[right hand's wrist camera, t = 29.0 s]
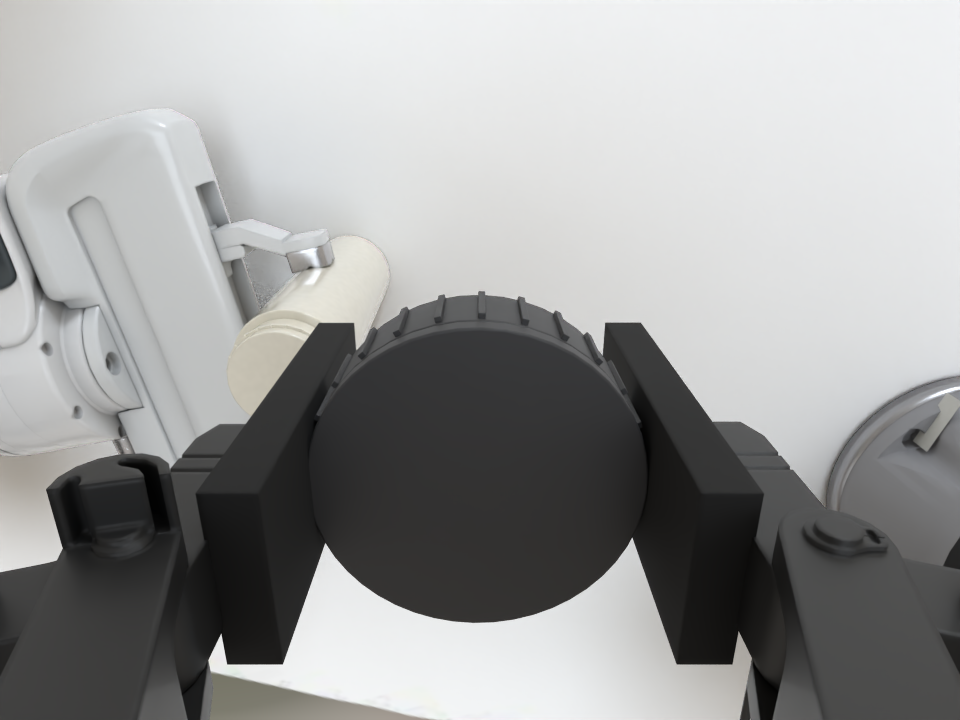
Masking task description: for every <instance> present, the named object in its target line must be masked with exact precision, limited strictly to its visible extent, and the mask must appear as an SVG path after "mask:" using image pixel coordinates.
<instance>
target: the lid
mask: <svg viewBox="0 0 960 720" xmlns="http://www.w3.org/2000/svg"><path fill="white" fill-rule="evenodd" d="M627 393H628V391H627V389H626V387H625V385H624V384H623V382H622V380H621V378H620V376H619V374H618V372H617V370H616V368H615V366H614V364H613V362H612V361H611V360H610V361H608V362H606V360H605V358H604V357H603V356H602V354H601V353H600V352H599V351H598V349H597V347H596V345H595V343H594V341H593V339H592V337H591V335H590V334H589V333H588V332H587V333H586V334H585V335H583V334H582V333H581V332H580V331H579V330H578V329H576V328H575V327H573V326H572V325H571V324H569V323H568V322H566V321H565V320H563V318H562V315H561V313H560V312H558V311H555V312H554V314H553V313H551V312H549V311H547V310H545V309H543V308H540V307H537V306H534V305H532V304H529V303H526V302H525V298H523V297H518V300H514V299H510V298H505V297H497V296H486V295H485V292H483V291H479V292H478V295H471V296H457V297H451V298H445V295H440V296H438V300H436V301H433V302H429V303H426V304H423V305H419V306H417V307H415V308H413V309H411V310H408V308H407V307H405V308H403V309H401V312H400V314H399V315H398V316H397V317H395V318H393V319H392V320H390V321H389V322H387V323H385V324H384V325H383V326H381V327H380V328H379V329H378V330H377V329H376V328H375V327H373V328H372V329H371V330H370V331H369V333H368V335H367V337H366V339H365V341H364V343H363V344H362V345H361V346H360V347H359V348H358V349H357V350H356V352H355V353H354V354H353V356H352V355H350V354H348V355H347V356H346V358H345V359H344V361H343V363H342V365H341V367H340V369H339V371H338V373H337V375H336V377H335V379H334V380H333V382H332V384H331V386H330V388H329V390H328V392H327V394H326V396H325V398H324V400H323V402H322V404H321V406H320V407H319V409H318V411H317V413H316V415H315V418H314V420H316V421H318V422H317V424H316V426H315V429H314V432H313V435H312V438H311V442H310V445H309V450H308V463H309V473H310V482H311V491H312V500H313V509H314V517H315V523H316V525H317V527H318V529H319V531H320V533H321V535H322V538H323V540H324V541H325V543H326V544H327V546H328V547H329V549H330V550H331V552H332V553H333V555H334V556H335V558H336V559H337V560H338V561H339V562H340V563H341V564H342V566H343V567H344V568H345V569H346V570H347V571H348V572H349V573H350V574H351V575H352V576H353V577H355V578H356V579H357V580H358V581H359V582H360V583H361V584H363V585H364V586H365V587H367V588H368V589H370V590H371V591H373V592H374V593H375V594H377V595H378V596H380V597H382V598H384V599H386V600H388V601H389V602H391V603H393V604H395V605H397V606H400V607H402V608H405V609H407V610H410V611H412V612H415V613H418V614H422V615H425V616H429V617H432V618H437V619H443V620H449V621H456V622H470V623H482V622H498V621H506V620H513V619H518V618H522V617H526V616H530V615H534V614H537V613H540V612H542V611H545V610H548V609H551V608H553V607H555V606H557V605H559V604H561V603H563V602H566V601H568V600H570V599H571V598H573V597H575V596H576V595H578V594H579V593H581V592H582V591H584V590H586V589H587V588H588V587H590V586H591V585H592V584H593V583H594V582H596V581H597V580H598V579H599V578H601V577H602V576H603V575H604V574H605V573H606V572H607V571H608V570H609V569H610V568H611V566H612V565H613V564H614V563H615V562H616V561H617V560H618V558H619V557H620V556H621V554H622V553H623V551H624V550H625V549H626V547H627V546H628V544H629V542H630V540H631V538H632V537H633V535H634V533H635V531H636V529H637V526H638V524H639V521H640V518H641V516H642V513H643V510H644V505H645V500H646V496H647V488H648V462H647V453H646V449H645V445H644V441H643V437H642V433H641V431H640V428H643V426H642V423H641V420H640V419H639V417H638V415H637V413H636V411H635V409H634V407H633V405H632V403H631V401H630V399H629V397H628V395H627Z"/></svg>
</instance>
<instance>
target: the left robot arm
mask: <svg viewBox="0 0 960 720" xmlns="http://www.w3.org/2000/svg"><path fill="white" fill-rule="evenodd" d="M257 248H258V249H262V250H265V251H268V252H272V253H275V254H279V255H282V256H285V257H286V256H287V259H288V262H289V264H290V267H291V270H292V273H296V272H301V271H305V270H307V269H308V268H309V267H313V268H321V267H325V266H328V265H330V264H331V263H332V261H333V260H335V257H334V253H333V249H332V246H331V242H330V237H329V234H328V231H327V229H319V230H314V231H309V232H304V233H299V234H294V235H292V233H291V232H289V231H286V230H283V229H280V228H277V227H274V226H272V225H269V224H266V223H263V222H260V221H257V220H254V219H248V220H243V221H238V222H233V223H231V221H230V218H229V215H228V212H227V209H226V206H225V203H224V200H223V197H222V194H221V191H220V189H219V186H218V183H217V180H216V177H215V174H214V171H213V168H212V165H211V162H210V159H209V156H208V153H207V150H206V147H205V144H204V141H203V138H202V135H201V132H200V130H199V127H198V125H197V124H196V122H195V121H194V120H192V119H190V118H189V117H187V116H185V115H183V114H181V113H179V112H177V111H175V110H173V109H169V108H156V109H147V110H140V111H136V112H131V113H127V114H123V115H118V116H115V117H112V118H108V119H105V120H101V121H98V122H95V123H92V124H89V125H86V126H83V127H80V128H78V129H75V130H72V131H70V132H67V133H64V134H62V135H60V136H57V137H55V138H53V139H50V140H48V141H46V142H44V143H41V144H39V145H37V146H35V147H33V148H32V149H30V150H29V151H27V152H26V153H24V154H23V155H22V156H21V157H19V158H18V159H17V161H16V162H15V163H14V164H13V166H12V167H11V169H10V171H9V173H7V174H2V175H0V455H3V456H29V455H34V454H40V453H45V452H51V451H56V450H62V449H67V448H73V447H78V446H83V445H89V444H94V443H99V442H105V441H110V440H112V441H113V443H114V446H115V448H116V450H117V452H118V454H119V455H120V454H137V453H144V454H149V455H154V456H159V457H161V458H162V459H163V460H165V461H166V462H168V463H169V467H170V468H171V467H172V466H173V465H174V464H175V462H176V461H177V460H178V459H179V458H182V454H183V453H184V452H185V451H186V449H187V448H188V447H189V446H190V445H191V443H192V442H193V441H194V440H195V439H196V438H197V437H199V436H200V435H202V434H204V433H205V432H207V431H209V430H210V429H212V428H214V427H215V426H217V425H219V424H246V423H247V421H248V420H249V419H250V417H251V416H250V415H249V414H247V413H246V412H245V411H244V410H243V409H242V408H241V407H240V406H239V405H238V403H237V402H236V401H235V399H234V397H233V395H232V393H231V391H230V388H229V385H228V380H227V373H226V369H227V363H228V357H229V355H230V353H231V351H232V349H233V347H234V343H235V340H236V338H237V336H238V334H239V332H240V331H241V329H242V328H243V327H244V326H245V325H246V324H247V323H248V322H249V321H250V319H251V318H252V317H253V316H254V315H255V314H256V313H257V312H258V311H259V310H260V306H259V303H258V300H257V297H256V294H255V291H254V288H253V285H252V282H251V280H250V277H249V274H248V271H247V268H246V265H245V262H244V259H243V258H244V257H246V256H247V255H248V254H250V253H251V252H253V251H254V250H255V249H257Z"/></svg>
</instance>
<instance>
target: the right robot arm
mask: <svg viewBox="0 0 960 720" xmlns="http://www.w3.org/2000/svg"><path fill="white" fill-rule="evenodd" d="M355 352H356V340H355V326H354V323H318V325H317V326H316V327H315V329H314V330H313V332H312V333H311V334H310V336H309V337H308V338H307V340H306V341H305V343H304V344H303V345H302V347H301V348H300V350H299V351H298V352H297V354H296V355H295V356H294V358H293V359H292V361H291V362H290V363H289V365H288V366H287V368H286V369H285V370H284V372H283V373H282V374H281V376H280V377H279V379H278V380H277V381H276V383H275V384H274V385H273V387H272V388H271V390H270V391H269V392H268V394H267V395H266V397H265V398H264V399H263V401H262V402H261V403H260V405H259V406H258V408H257V409H256V410H255V412H254V413H253V414H252V416H251V417H250V419H249V420H248V421H247V423H246V424H219V425H217V426H215V427H214V428H212V429H210V430H209V431H207V432H205V433H204V434H202V435H200V436H199V437H197V438H196V439H195V440H194V441H193V442H192V443H191V445H190V446H189V447H188V448H187V449H186V451H185V452H184V453H183V454H182V458H179V459H178V460H177V461H176V462H175V464H174V465H173V466H172V467H171V468H170V467H169V463H168V462H166V461H165V460H163V459H162V458H161V457H159V456H154V455H149V454H144V453H137V454H120V455H115V456H110V457H105V458H100V459H97V460H94V461H91V462H88V463H86V464H83V465H80V466H77V467H75V468H73V469H72V470H70V471H68V472H67V473H65V474H63V475H61V476H60V477H58V478H57V479H56V480H55V481H54V482H53V483H52V484H51V485H50V486H49V487H48V488H47V489H46V491H47V494H48V498H49V501H50V505H51V508H52V512H53V515H54V519H55V522H56V526H57V529H58V533H59V537H60V540H61V544H62V547H63V549H62V551H61V553H60V555H59V557H58V560H57V561H54V562H50V563H46V564H41V565H36V566H31V567H26V568H21V569H15V570H10V571H5V572H0V720H210V711H211V703H212V694H213V683H212V677H211V671H210V666H209V661H208V660H209V657H210V655H211V653H212V651H213V649H214V647H215V645H216V643H217V641H218V639H219V637H220V635H221V634H222V639H223V644H224V650H225V655H226V660H227V664H283V662H284V660H285V657H286V654H287V651H288V648H289V645H290V642H291V639H292V637H293V634H294V631H295V628H296V625H297V622H298V619H299V617H300V614H301V611H302V608H303V605H304V602H305V599H306V596H307V594H308V591H309V588H310V585H311V582H312V579H313V576H314V574H315V571H316V568H317V565H318V562H319V559H320V556H321V554H322V551H323V548H324V545H325V541H324V540H323V538H322V535H321V533H320V531H319V529H318V527H317V525H316V523H315V517H314V509H313V500H312V491H311V482H310V473H309V463H308V450H309V445H310V442H311V438H312V435H313V432H314V429H315V426H316V424H317V422H318V421H316V420H314V418H315V415H316V413H317V411H318V409H319V407H320V406H321V404H322V402H323V400H324V398H325V396H326V394H327V392H328V390H329V388H330V386H331V384H332V382H333V380H334V379H335V377H336V375H337V373H338V371H339V369H340V367H341V365H342V363H343V361H344V359H345V358H346V356H347V355H348V354H350V355H352V356H353V354H354V353H355ZM603 357H604V358H605V360H606V362H608V361H610V360H611V361H612V362H613V364H614V366H615V368H616V370H617V372H618V374H619V376H620V378H621V380H622V382H623V384H624V385H625V387H626V389H627V391H628V393H627V395H628V397H629V399H630V401H631V403H632V405H633V407H634V409H635V411H636V413H637V415H638V417H639V419H640V420H641V423H642V426H643V428H640V431H641V433H642V437H643V441H644V445H645V449H646V453H647V462H648V488H647V496H646V500H645V505H644V510H643V513H642V516H641V518H640V521H639V524H638V526H637V529H636V531H635V533H634V535H633V540H634V543H635V546H636V549H637V552H638V555H639V558H640V560H641V563H642V566H643V569H644V572H645V575H646V578H647V580H648V583H649V586H650V589H651V592H652V595H653V598H654V600H655V603H656V606H657V609H658V612H659V615H660V618H661V621H662V623H663V626H664V629H665V632H666V635H667V638H668V641H669V643H670V646H671V649H672V652H673V655H674V658H675V661H676V664H733V658H734V653H735V647H736V642H737V637H738V631H739V632H740V634H741V636H742V638H743V641H744V643H745V645H746V647H747V649H748V651H749V653H750V655H751V657H752V661H751V666H750V671H749V676H748V681H747V686H746V691H745V696H744V701H743V706H742V711H741V716H740V720H750V718H751V720H960V377H955V378H949V379H945V380H941V381H937V382H934V383H931V384H928V385H925V386H922V387H920V388H917V389H915V390H913V391H911V392H909V393H907V394H905V395H903V396H901V397H899V398H897V399H896V400H894V401H892V402H891V403H889V404H888V405H886V406H885V407H884V408H882V409H881V410H879V411H878V412H877V413H876V414H874V415H873V416H872V417H871V418H870V419H869V420H868V421H867V422H866V423H864V424H863V425H862V426H861V427H860V429H859V430H858V431H857V432H856V433H855V434H854V435H853V437H852V438H851V439H850V441H849V442H848V443H847V444H846V446H845V448H844V449H843V451H842V452H841V454H840V456H839V458H838V460H837V462H836V464H835V466H834V469H833V471H832V474H831V477H830V481H829V485H828V491H827V509H826V508H825V507H824V506H823V505H822V504H821V503H820V501H819V500H818V499H817V498H816V497H815V495H814V494H813V493H812V492H811V491H810V490H809V488H808V487H807V486H806V485H805V484H804V482H803V481H802V480H801V479H800V478H799V477H798V475H797V474H796V473H795V472H794V471H793V470H790V466H789V465H788V464H787V462H786V461H785V460H784V459H783V458H782V457H781V456H778V452H777V451H776V449H775V448H774V447H773V446H772V445H771V444H770V442H769V441H768V440H767V439H766V438H765V436H763V435H762V434H760V433H758V432H757V431H755V430H753V429H751V428H750V427H748V426H746V425H745V424H743V423H741V422H712V421H711V419H710V418H709V416H708V415H707V414H706V412H705V411H704V410H703V408H702V407H701V405H700V404H699V403H698V401H697V400H696V399H695V397H694V396H693V394H692V393H691V392H690V390H689V389H688V387H687V386H686V385H685V383H684V382H683V381H682V379H681V378H680V376H679V375H678V374H677V372H676V371H675V369H674V368H673V367H672V365H671V364H670V363H669V361H668V360H667V358H666V357H665V356H664V354H663V353H662V351H661V350H660V349H659V347H658V346H657V345H656V343H655V342H654V340H653V339H652V338H651V336H650V335H649V334H648V332H647V331H646V329H645V328H644V327H643V325H642V324H641V323H605V334H604V348H603Z"/></svg>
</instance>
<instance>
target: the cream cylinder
mask: <svg viewBox="0 0 960 720" xmlns="http://www.w3.org/2000/svg"><path fill="white" fill-rule="evenodd" d="M330 242H331V246H332V249H333V253H334V257H335V260H333V261H332V263H331V264H330V265H328V266H325V267H321V268H313V267H309V268H308V269H307V270H305V271H301V272H296V273H295V274H294V275H293V276H292V278H291V279H290V280H289V281H288V282H287V283H286V284H285V285H284V286H283V287H282V288H281V289H280V290H279V291H278V292H277V293H276V294H275V295H274V296H273V297H272V298H271V299H270V300H269V301H268V302H267V303H266V304H265V305H264V306H263V307H262V308H261V309H260V310H259V311H258V312H257V313H256V314H255V315H254V316H253V317H252V318H251V319H250V321H249V322H248V323H247V324H246V325H245V326H244V327H243V328H242V329H241V331H240V332H239V334H238V336H237V338H236V340H235V343H234V347H233V349H232V351H231V353H230V355H229V357H228V363H227V369H226V373H227V380H228V385H229V388H230V391H231V393H232V395H233V397H234V399H235V401H236V402H237V403H238V405H239V406H240V407H241V408H242V409H243V410H244V411H245V412H246V413H247V414H249V415H250V416H252V414H253V413H254V412H255V410H256V409H257V408H258V406H259V405H260V403H261V402H262V401H263V399H264V398H265V397H266V395H267V394H268V392H269V391H270V390H271V388H272V387H273V385H274V384H275V383H276V381H277V380H278V379H279V377H280V376H281V374H282V373H283V372H284V370H285V369H286V368H287V366H288V365H289V363H290V362H291V361H292V359H293V358H294V356H295V355H296V354H297V352H298V351H299V350H300V348H301V347H302V345H303V344H304V343H305V341H306V340H307V338H308V337H309V336H310V334H311V333H312V332H313V330H314V329H315V327H316V326H317V325H318V323H354V326H355V340H356V350H357V349H358V348H359V347H360V346H361V345H362V344H363V343H364V341H365V339H366V337H367V334H368V332H369V330H370V328H371V325H372V323H373V321H374V318H375V316H376V314H377V311H378V309H379V307H380V305H381V302H382V300H383V298H384V295H385V293H386V291H387V288H388V285H389V280H390V271H389V266H388V263H387V260H386V258H385V256H384V255H383V253H382V252H381V251H380V250H379V248H378V247H376V246H375V245H374V244H373V243H371V242H370V241H368V240H366V239H364V238H361V237H357V236H350V235H347V236H339V237H336V238H333V239H331V240H330Z"/></svg>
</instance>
